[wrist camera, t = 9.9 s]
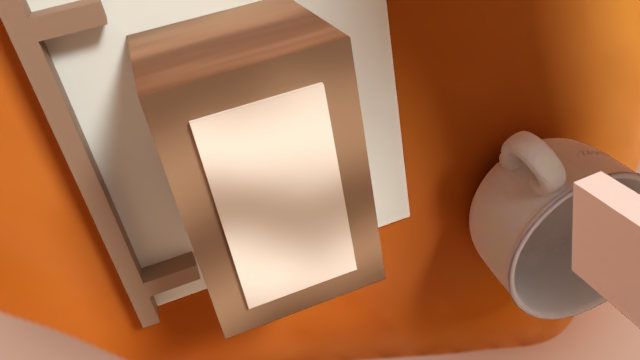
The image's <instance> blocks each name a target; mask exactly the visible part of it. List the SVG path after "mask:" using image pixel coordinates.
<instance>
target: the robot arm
mask: <svg viewBox="0 0 640 360" xmlns="http://www.w3.org/2000/svg"><path fill="white" fill-rule="evenodd" d="M572 271H573V272H575V273H576V274H577V275H578V276H579V277H580V278H582V279H583V280H584V281H585V282H586V283H587V284H589V285H590V286H591V287H592V288H593V289H594V290H596V291H597V292H598V293H599V294H600V295H601V296H603V297H604V298H605V299H606V300H607V301H608V302H610V303H611V304H612V305H613V306H614V307H615V308H617V309H618V310H619V311H620V312H621V313H622V314H624V315H625V316H626V317H627V318H628V319H629V320H631V321H632V322H633V323H634V324H635V325H636V326H638V327H639V328H640V194H638V193H636V192H635V191H633V190H631V189H630V188H628V187H626V186H625V185H623V184H622V183H620V182H618V181H617V180H615V179H613V178H612V177H610V176H608V175H607V174H605V173H603V172H602V171H600V172H598V173H595V174H593V175H590V176H588V177H585V178H583V179H580V180H578V181H575V182H573V226H572Z"/></svg>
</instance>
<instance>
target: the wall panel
mask: <svg viewBox="0 0 640 360" xmlns="http://www.w3.org/2000/svg"><path fill="white" fill-rule="evenodd" d="M258 1H262V0H0V18H1V20H2V22H3V24H4V27H5V29H6V31H7V33H8V35H9V37H10V40H11V42H12V44H13V46H14V48H15V51H16V53H17V55H18V57H19V59H20V61H21V64H22V66H23V68H24V70H25V72H26V74H27V77H28V79H29V81H30V83H31V85H32V88H33V90H34V92H35V94H36V96H37V98H38V101H39V103H40V105H41V107H42V109H43V111H44V114H45V116H46V118H47V120H48V122H49V125H50V127H51V129H52V131H53V133H54V135H55V138H56V140H57V142H58V144H59V146H60V148H61V151H62V153H63V155H64V157H65V159H66V162H67V164H68V166H69V168H70V170H71V172H72V175H73V177H74V179H75V181H76V183H77V185H78V188H79V190H80V192H81V194H82V196H83V198H84V201H85V203H86V205H87V207H88V209H89V212H90V214H91V216H92V218H93V220H94V222H95V225H96V227H97V229H98V231H99V233H100V235H101V238H102V240H103V242H104V244H105V246H106V249H107V251H108V253H109V255H110V257H111V259H112V262H113V264H114V266H115V268H116V270H117V272H118V275H119V277H120V279H121V281H122V283H123V286H124V288H125V290H126V292H127V294H128V296H129V299H130V301H131V303H132V305H133V307H134V309H135V312H136V314H137V316H138V318H139V320H140V323H141V325H142V327H143V328H145V327H148V326H151V325H154V324H156V323H159V322H160V318H159V311H158V306H159V305H162V304H165V303H168V302H171V301H174V300H176V299H179V298H182V297H185V296H188V295H190V294H193V293H196V292H199V291H202V290H204V289H207V287H206V284H205V281H204V278H203V275H202V273H201V270H200V267H199V264H198V262H197V259H196V256H195V253H194V251H193V248H192V245H191V242H190V240H189V237H188V234H187V231H186V228H185V226H184V223H183V220H182V217H181V215H180V212H179V209H178V206H177V204H176V201H175V198H174V195H173V192H172V190H171V187H170V184H169V181H168V179H167V176H166V173H165V170H164V168H163V165H162V162H161V159H160V157H159V154H158V151H157V148H156V145H155V143H154V140H153V137H152V134H151V132H150V129H149V126H148V123H147V121H146V118H145V115H144V112H143V109H142V107H141V104H140V101H139V98H138V95H137V89H136V84H135V79H134V74H133V68H132V63H131V58H130V52H129V47H128V42H127V35H130V34H134V33H138V32H142V31H146V30H150V29H154V28H157V27H161V26H165V25H169V24H173V23H177V22H181V21H184V20H188V19H192V18H196V17H200V16H204V15H208V14H211V13H215V12H219V11H223V10H227V9H231V8H235V7H238V6H242V5H246V4H250V3H254V2H258ZM294 1H295V2H297V3H298V4H300V5H302V6H303V7H305V8H306V9H308V10H309V11H311V12H312V13H314V14H315V15H317V16H319V17H320V18H322V19H323V20H325V21H326V22H328V23H329V24H331V25H332V26H334V27H336V28H337V29H339V30H340V31H342V32H343V33H345V34H346V35H348V36H350V39H351V45H352V52H353V59H354V66H355V73H356V79H357V86H358V93H359V100H360V107H361V113H362V120H363V127H364V134H365V141H366V147H367V154H368V161H369V168H370V175H371V181H372V188H373V195H374V202H375V209H376V215H377V222H378V228H379V227H382V226H384V225H387V224H390V223H393V222H396V221H398V220H401V219H404V218H407V217H410V210H409V201H408V192H407V183H406V174H405V165H404V156H403V147H402V138H401V129H400V120H399V111H398V102H397V92H396V83H395V74H394V65H393V56H392V47H391V38H390V29H389V20H388V11H387V2H386V0H294Z"/></svg>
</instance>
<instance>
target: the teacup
mask: <svg viewBox="0 0 640 360" xmlns="http://www.w3.org/2000/svg"><path fill="white" fill-rule="evenodd" d="M600 171H602V172H603V173H605V174H607V175H608V176H610V177H612V178H613V179H615V180H617V181H618V182H620V183H622V184H623V185H625V186H626V187H628V188H630V189H631V190H633V191H635V192H636V193H638V194H640V174H639V173H636V172H634V171H632V170H631V169H629V168H628V167H626V166H625V165H623V164H622V163H620V162H619V161H617V160H615V159H614V158H612V157H610V156H609V155H607V154H605V153H603V152H602V151H600V150H598V149H596V148H594V147H592V146H590V145H588V144H586V143H583V142H580V141H577V140H573V139H568V138H546V139H540V138H539V137H538V136H536V135H535V134H533V133H531V132H528V131H520V132H517V133H515V134H513V135H512V136H511V137H509V138H508V139H507V140H506V141H505V142H504V143H503V145H502V148H501V154H500V156H499V162H498V163H497V164H496V165H495V166H494V167H493V168H492V169H491V170H490V171H489V172H488V173H487V175H486V176H485V177H484V179H483V180H482V182H481V183H480V185H479V187H478V189H477V191H476V193H475V195H474V197H473V200H472V204H471V208H470V214H469V229H470V234H471V238H472V241H473V244H474V246H475V248H476V250H477V252H478V253H479V255H480V256H481V258H482V259H483V261H484V262H485V263H486V265H487V266H488V267H489V269H490V270H491V271H492V273H493V274H494V275H495V277H496V278H497V279H498V280H499V281H500V283H501V284H502V285H503V286H504V287H505V289H506V290H507V291H508V292H509V293H510V295H511V297H512V299H513V301H514V302H515V304H516V305H517V306H518V307H519V308H520V309H521V310H523V311H524V312H525V313H527V314H529V315H531V316H534V317H537V318H541V319H562V318H567V317H571V316H575V315H578V314H581V313H583V312H585V311H588V310H590V309H592V308H594V307H596V306H598V305H600V304H602V303H604V302H606V301H607V300H606V299H605V298H604V297H603V296H601V295H600V294H599V293H598V292H597V291H596V290H594V289H593V288H592V287H591V286H590V285H589V284H587V283H586V282H585V281H584V280H583V279H582V278H580V277H579V276H578V275H577V274H576V273H575V272H573V271H572V226H573V182H575V181H578V180H580V179H583V178H585V177H588V176H590V175H593V174H595V173H598V172H600Z"/></svg>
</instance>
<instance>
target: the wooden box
mask: <svg viewBox="0 0 640 360" xmlns="http://www.w3.org/2000/svg"><path fill="white" fill-rule="evenodd" d="M127 42H128V47H129V52H130V58H131V63H132V68H133V74H134V79H135V84H136V89H137V95H138V98H139V101H140V104H141V107H142V109H143V112H144V115H145V118H146V121H147V123H148V126H149V129H150V132H151V134H152V137H153V140H154V143H155V145H156V148H157V151H158V154H159V157H160V159H161V162H162V165H163V168H164V170H165V173H166V176H167V179H168V181H169V184H170V187H171V190H172V192H173V195H174V198H175V201H176V204H177V206H178V209H179V212H180V215H181V217H182V220H183V223H184V226H185V228H186V231H187V234H188V237H189V240H190V242H191V245H192V248H193V251H194V253H195V256H196V259H197V262H198V264H199V267H200V270H201V273H202V275H203V278H204V281H205V284H206V287H207V289H208V292H209V295H210V298H211V300H212V303H213V306H214V309H215V311H216V314H217V317H218V320H219V322H220V325H221V328H222V331H223V334H224V336H225V339H227V338H230V337H232V336H235V335H238V334H240V333H243V332H246V331H248V330H251V329H254V328H256V327H259V326H262V325H264V324H267V323H270V322H272V321H275V320H278V319H280V318H283V317H286V316H288V315H291V314H294V313H296V312H299V311H302V310H304V309H307V308H309V307H312V306H315V305H317V304H320V303H323V302H325V301H328V300H331V299H333V298H336V297H339V296H341V295H344V294H347V293H349V292H352V291H355V290H357V289H360V288H363V287H365V286H368V285H371V284H373V283H376V282H379V281H381V280H384V279H386V277H385V270H384V263H383V256H382V249H381V243H380V236H379V229H378V222H377V215H376V209H375V202H374V195H373V188H372V181H371V175H370V168H369V161H368V154H367V147H366V141H365V134H364V127H363V120H362V113H361V107H360V100H359V93H358V86H357V79H356V73H355V66H354V59H353V52H352V45H351V39H350V36H348V35H346V34H345V33H343V32H342V31H340V30H339V29H337V28H336V27H334V26H332V25H331V24H329V23H328V22H326V21H325V20H323V19H322V18H320V17H319V16H317V15H315V14H314V13H312V12H311V11H309V10H308V9H306V8H305V7H303V6H302V5H300V4H298V3H297V2H295V1H294V0H262V1H258V2H254V3H250V4H246V5H242V6H238V7H235V8H231V9H227V10H223V11H219V12H215V13H211V14H208V15H204V16H200V17H196V18H192V19H188V20H184V21H181V22H177V23H173V24H169V25H165V26H161V27H157V28H154V29H150V30H146V31H142V32H138V33H134V34H130V35H127Z"/></svg>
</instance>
